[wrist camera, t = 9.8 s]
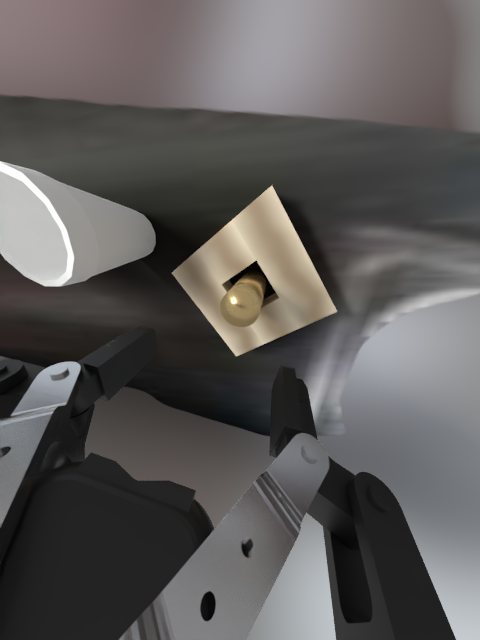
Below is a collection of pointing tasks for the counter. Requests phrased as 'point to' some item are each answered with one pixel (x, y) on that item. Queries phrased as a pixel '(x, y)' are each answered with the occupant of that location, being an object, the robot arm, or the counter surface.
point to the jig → (277, 264)
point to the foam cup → (65, 229)
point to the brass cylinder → (244, 300)
